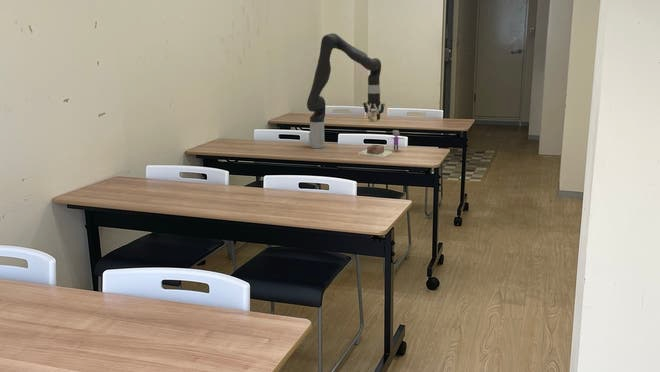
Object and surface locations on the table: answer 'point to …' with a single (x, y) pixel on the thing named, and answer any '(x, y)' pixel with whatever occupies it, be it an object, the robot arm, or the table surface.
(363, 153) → the build plate
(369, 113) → the top brick
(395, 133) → the toy
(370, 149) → the base brick
